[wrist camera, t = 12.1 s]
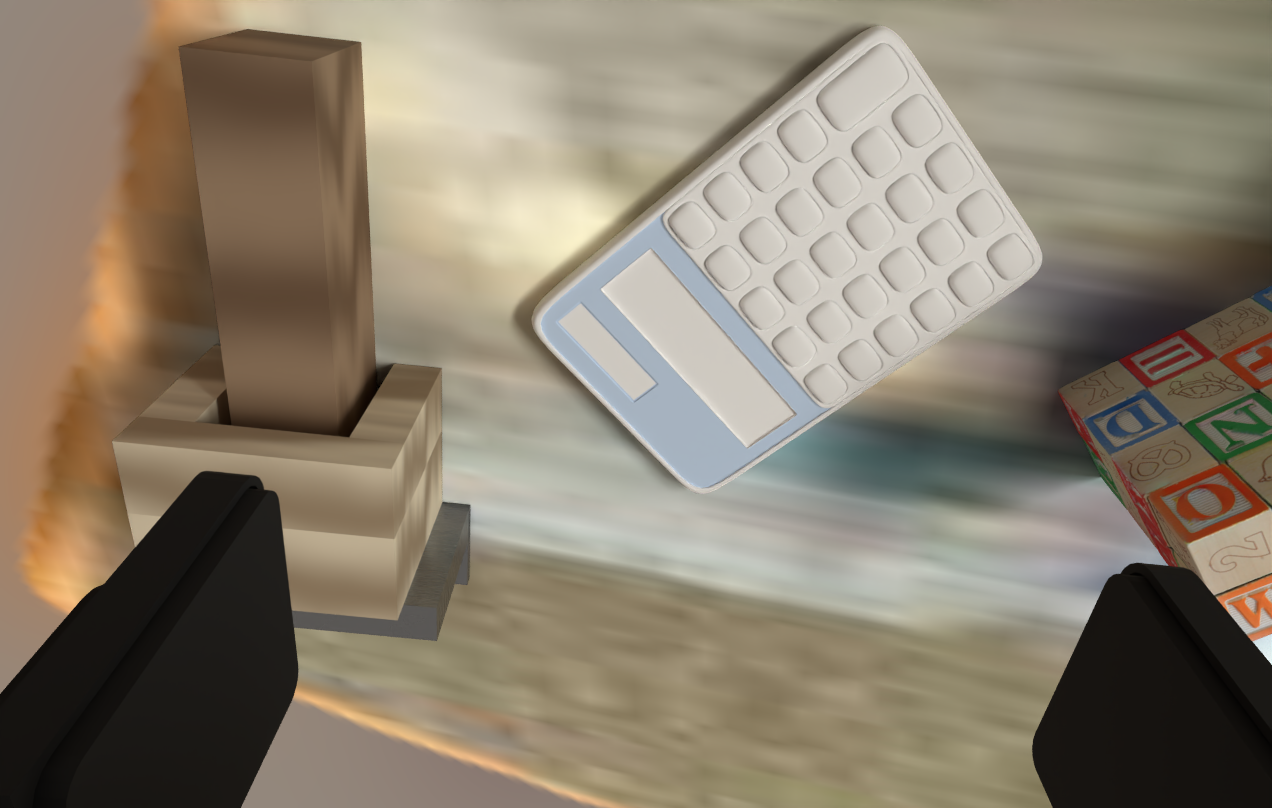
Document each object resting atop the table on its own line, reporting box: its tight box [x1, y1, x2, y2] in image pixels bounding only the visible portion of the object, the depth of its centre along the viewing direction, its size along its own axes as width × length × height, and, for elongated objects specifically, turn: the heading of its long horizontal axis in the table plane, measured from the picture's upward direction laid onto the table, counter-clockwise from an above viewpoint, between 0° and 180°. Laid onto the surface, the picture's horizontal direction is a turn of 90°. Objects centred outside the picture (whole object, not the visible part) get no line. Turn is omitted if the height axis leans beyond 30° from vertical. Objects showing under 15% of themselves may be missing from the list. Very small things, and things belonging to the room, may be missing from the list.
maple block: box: [112, 345, 442, 620], centre depth 40 cm, size 8×11×9 cm
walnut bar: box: [179, 29, 377, 437], centre depth 37 cm, size 18×5×6 cm, turn 174°
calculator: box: [531, 26, 1042, 494], centre depth 40 cm, size 13×20×2 cm, turn 131°
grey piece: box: [292, 502, 470, 641], centre depth 44 cm, size 5×14×8 cm, turn 84°
